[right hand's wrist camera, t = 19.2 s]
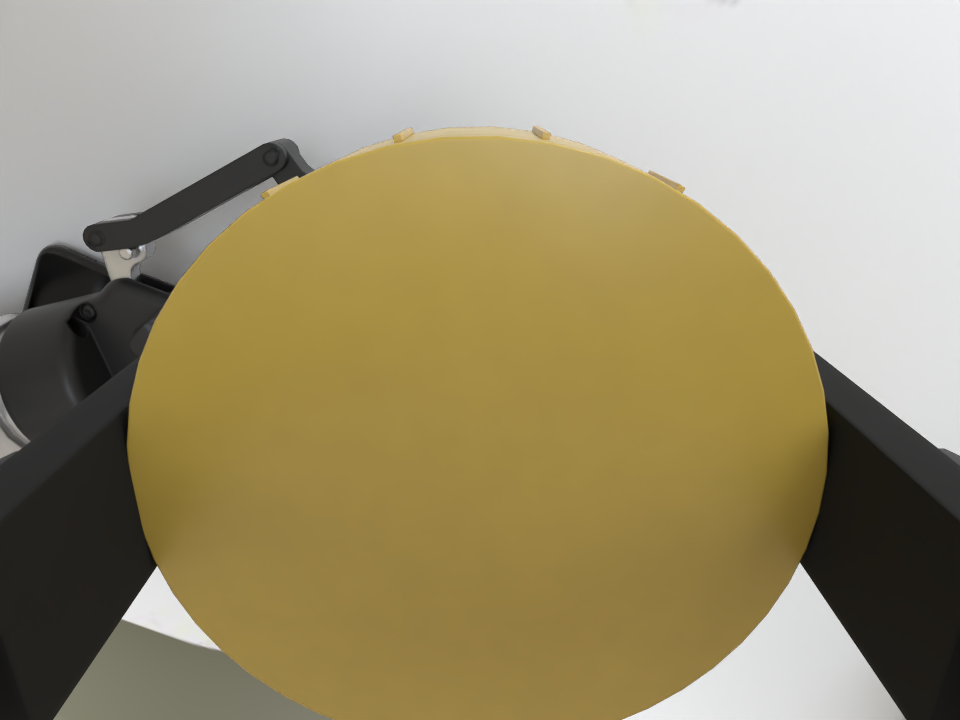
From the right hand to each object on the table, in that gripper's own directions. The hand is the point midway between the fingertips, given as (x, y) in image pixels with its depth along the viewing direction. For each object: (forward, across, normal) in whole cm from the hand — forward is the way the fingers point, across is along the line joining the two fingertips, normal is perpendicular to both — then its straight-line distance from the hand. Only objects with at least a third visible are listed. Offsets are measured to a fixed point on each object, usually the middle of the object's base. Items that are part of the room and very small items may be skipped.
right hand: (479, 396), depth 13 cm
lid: (-3, 0, 0) cm, 3 cm away
